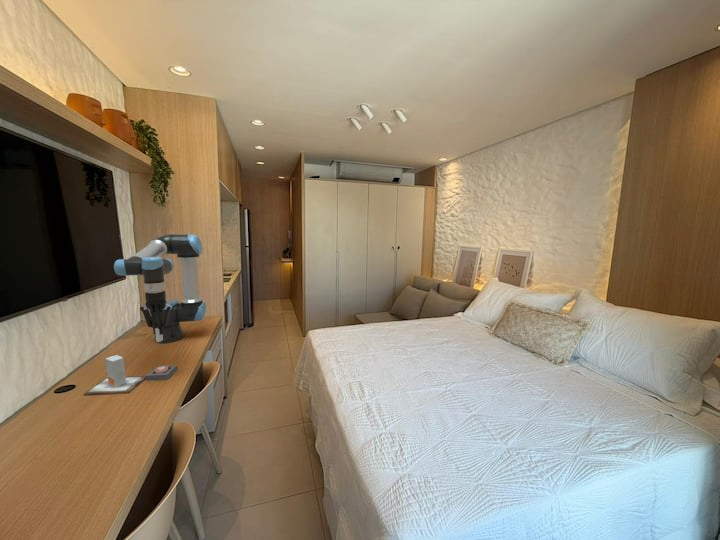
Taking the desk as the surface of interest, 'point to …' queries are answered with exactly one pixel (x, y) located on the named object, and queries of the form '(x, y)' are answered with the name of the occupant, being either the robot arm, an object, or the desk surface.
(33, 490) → the desk surface
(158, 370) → the button
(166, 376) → the button base
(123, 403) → the desk surface
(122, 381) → the skincare box
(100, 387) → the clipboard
